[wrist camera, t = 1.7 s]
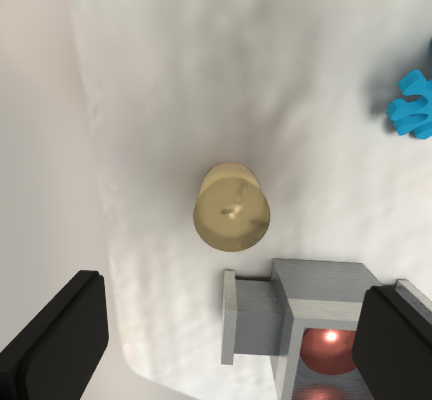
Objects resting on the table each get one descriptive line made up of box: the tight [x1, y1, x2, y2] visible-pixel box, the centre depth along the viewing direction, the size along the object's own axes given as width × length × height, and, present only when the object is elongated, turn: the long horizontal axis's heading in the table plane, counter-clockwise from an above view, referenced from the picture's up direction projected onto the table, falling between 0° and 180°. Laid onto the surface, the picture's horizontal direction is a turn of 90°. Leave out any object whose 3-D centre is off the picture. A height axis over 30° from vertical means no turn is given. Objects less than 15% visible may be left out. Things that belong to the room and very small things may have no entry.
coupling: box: [193, 162, 270, 252], centre depth 21 cm, size 5×5×7 cm
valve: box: [221, 258, 432, 400], centre depth 23 cm, size 9×18×8 cm, turn 87°
